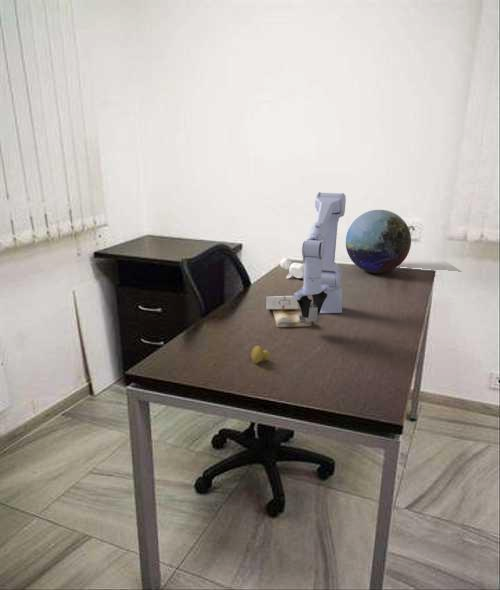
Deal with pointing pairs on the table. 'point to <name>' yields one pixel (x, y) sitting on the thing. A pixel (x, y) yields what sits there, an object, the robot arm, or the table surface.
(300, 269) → the white rounded lump
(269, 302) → the ink cartridge box
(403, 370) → the table surface
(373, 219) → the decorative globe
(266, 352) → the knob
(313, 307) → the hinge block
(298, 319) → the beige piece
